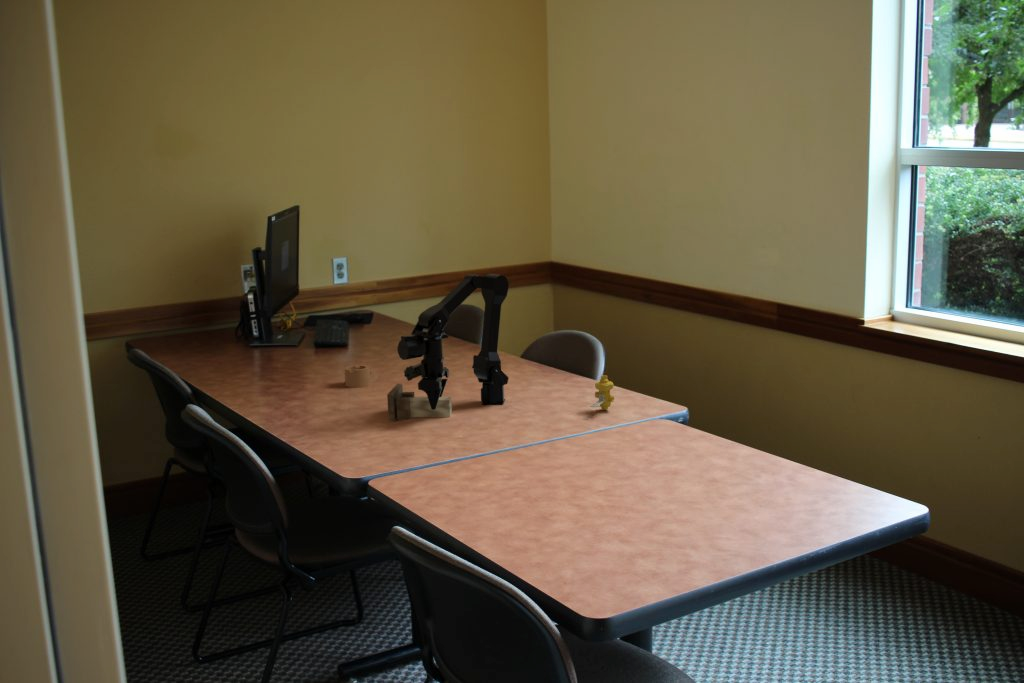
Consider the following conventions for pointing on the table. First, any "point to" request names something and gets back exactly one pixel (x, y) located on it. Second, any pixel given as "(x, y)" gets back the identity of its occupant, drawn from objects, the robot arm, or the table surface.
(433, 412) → the rail
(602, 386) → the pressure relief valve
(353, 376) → the bracket
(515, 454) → the table surface
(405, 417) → the headboard
